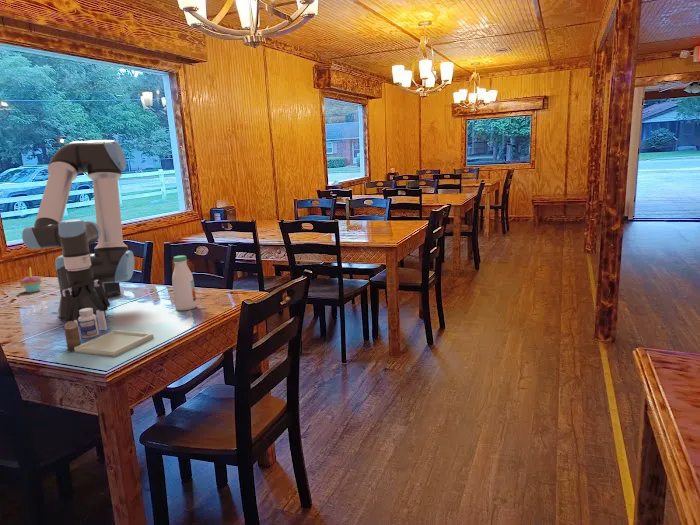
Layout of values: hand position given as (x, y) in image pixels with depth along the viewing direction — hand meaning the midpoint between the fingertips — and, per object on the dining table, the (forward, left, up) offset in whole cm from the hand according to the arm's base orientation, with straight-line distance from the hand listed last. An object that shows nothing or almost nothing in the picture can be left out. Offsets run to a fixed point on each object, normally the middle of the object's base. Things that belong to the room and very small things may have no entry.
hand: (90, 334), depth 165 cm
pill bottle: (0, 0, 0) cm, 0 cm away
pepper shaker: (+6, -11, 0) cm, 13 cm away
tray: (+16, -5, 0) cm, 17 cm away
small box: (-38, +45, 0) cm, 59 cm away
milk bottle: (+12, +33, 0) cm, 35 cm away
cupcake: (-82, +41, 0) cm, 92 cm away
